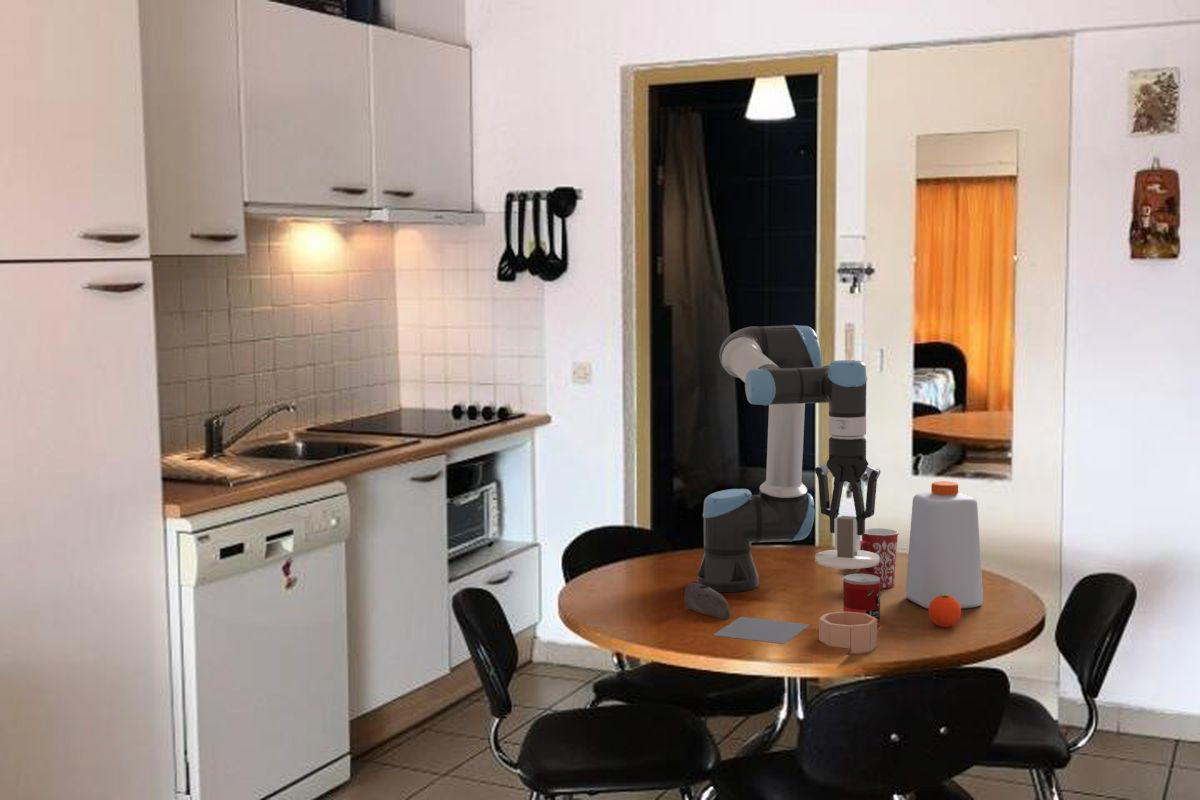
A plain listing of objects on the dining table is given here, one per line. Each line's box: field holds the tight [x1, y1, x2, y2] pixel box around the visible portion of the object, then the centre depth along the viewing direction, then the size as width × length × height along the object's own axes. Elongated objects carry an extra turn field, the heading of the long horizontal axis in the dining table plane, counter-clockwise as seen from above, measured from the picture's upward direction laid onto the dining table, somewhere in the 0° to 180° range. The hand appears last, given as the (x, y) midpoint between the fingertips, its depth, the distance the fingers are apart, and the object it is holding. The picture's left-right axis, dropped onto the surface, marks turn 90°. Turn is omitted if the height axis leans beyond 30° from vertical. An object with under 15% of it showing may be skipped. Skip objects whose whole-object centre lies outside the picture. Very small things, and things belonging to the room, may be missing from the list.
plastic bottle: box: [905, 480, 984, 610], centre depth 317 cm, size 15×15×28 cm
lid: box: [814, 515, 880, 570], centre depth 282 cm, size 13×13×9 cm
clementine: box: [928, 594, 962, 628], centre depth 299 cm, size 8×7×7 cm
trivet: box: [712, 616, 810, 645], centre depth 293 cm, size 16×16×2 cm
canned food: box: [842, 573, 881, 630], centre depth 299 cm, size 8×8×11 cm
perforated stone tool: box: [683, 582, 731, 620], centre depth 308 cm, size 15×5×7 cm, turn 28°
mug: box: [859, 527, 899, 590], centre depth 334 cm, size 13×9×14 cm
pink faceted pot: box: [818, 611, 878, 656], centre depth 284 cm, size 11×11×6 cm
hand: (847, 549), depth 282 cm, fingers closed on lid, 3 cm apart
